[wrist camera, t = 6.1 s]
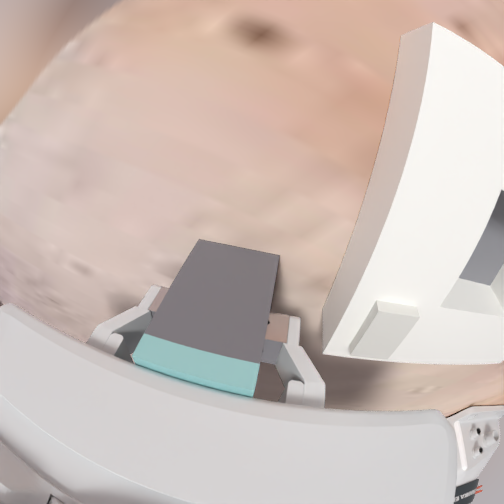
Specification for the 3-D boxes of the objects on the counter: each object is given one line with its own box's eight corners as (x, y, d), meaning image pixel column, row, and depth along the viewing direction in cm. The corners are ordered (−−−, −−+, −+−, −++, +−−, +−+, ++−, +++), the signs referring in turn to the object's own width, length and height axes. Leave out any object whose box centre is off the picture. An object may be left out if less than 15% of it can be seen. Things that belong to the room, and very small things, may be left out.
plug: (279, 255, 13) (254, 390, 7) (266, 311, 15) (242, 426, 10) (199, 239, 13) (131, 355, 8) (199, 296, 16) (153, 401, 10)
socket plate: (575, 163, 5) (609, 189, 2) (488, 331, 13) (502, 370, 11) (400, 35, 6) (441, 18, 3) (322, 309, 14) (322, 364, 12)
